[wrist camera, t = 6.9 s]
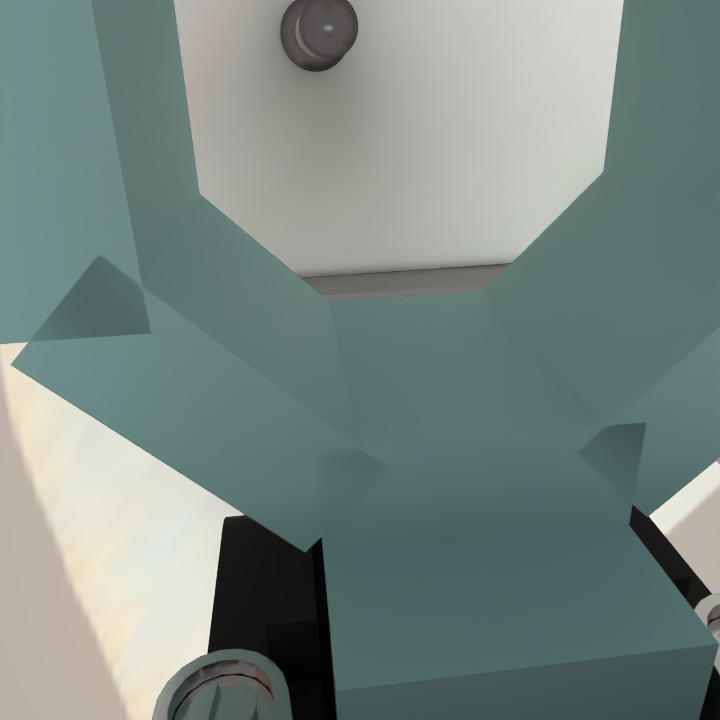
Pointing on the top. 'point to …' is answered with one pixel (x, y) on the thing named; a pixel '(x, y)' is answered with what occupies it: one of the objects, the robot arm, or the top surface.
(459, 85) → the top surface
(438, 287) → the tray
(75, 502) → the top surface
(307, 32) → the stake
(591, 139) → the top surface
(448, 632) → the teal magnifying glass
